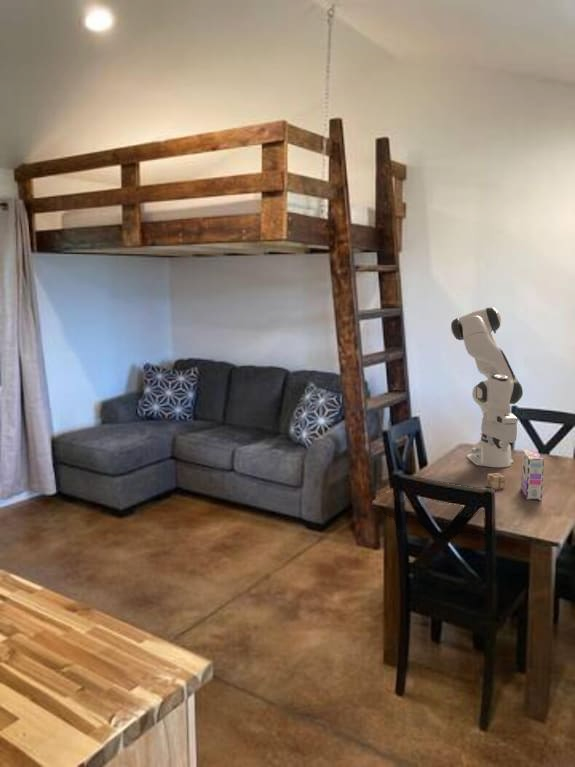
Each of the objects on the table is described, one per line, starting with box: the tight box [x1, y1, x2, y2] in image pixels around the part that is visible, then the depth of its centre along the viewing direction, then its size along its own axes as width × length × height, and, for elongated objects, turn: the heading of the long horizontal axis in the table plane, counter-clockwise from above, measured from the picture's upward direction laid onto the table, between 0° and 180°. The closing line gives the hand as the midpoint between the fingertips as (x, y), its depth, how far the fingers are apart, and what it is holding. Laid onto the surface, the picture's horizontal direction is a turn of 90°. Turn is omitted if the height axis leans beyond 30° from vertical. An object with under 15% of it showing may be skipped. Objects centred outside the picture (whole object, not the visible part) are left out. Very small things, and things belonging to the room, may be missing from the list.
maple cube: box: [486, 472, 506, 490], centre depth 255 cm, size 5×5×5 cm
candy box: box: [520, 449, 545, 501], centre depth 244 cm, size 14×6×16 cm, turn 168°
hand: (497, 448), depth 252 cm, fingers open, 8 cm apart
